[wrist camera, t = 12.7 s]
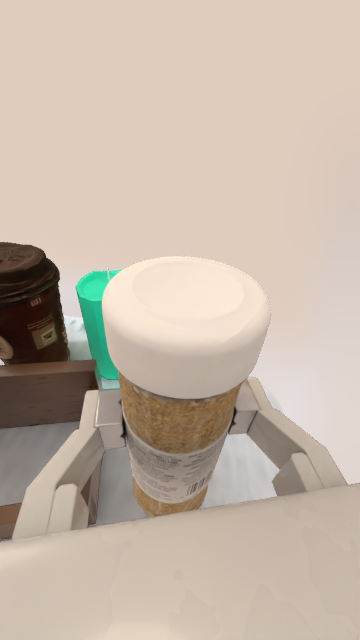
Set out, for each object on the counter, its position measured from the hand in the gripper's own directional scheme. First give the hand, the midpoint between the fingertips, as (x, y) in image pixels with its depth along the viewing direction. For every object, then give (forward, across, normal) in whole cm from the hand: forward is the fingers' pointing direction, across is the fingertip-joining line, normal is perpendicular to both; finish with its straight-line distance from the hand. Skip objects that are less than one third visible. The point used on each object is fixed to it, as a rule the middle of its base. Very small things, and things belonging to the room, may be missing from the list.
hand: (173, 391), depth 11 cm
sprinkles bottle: (-1, 0, +8) cm, 8 cm away
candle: (+14, +4, +13) cm, 20 cm away
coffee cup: (+15, +13, +13) cm, 24 cm away
